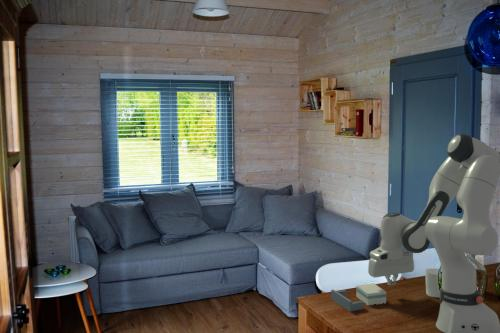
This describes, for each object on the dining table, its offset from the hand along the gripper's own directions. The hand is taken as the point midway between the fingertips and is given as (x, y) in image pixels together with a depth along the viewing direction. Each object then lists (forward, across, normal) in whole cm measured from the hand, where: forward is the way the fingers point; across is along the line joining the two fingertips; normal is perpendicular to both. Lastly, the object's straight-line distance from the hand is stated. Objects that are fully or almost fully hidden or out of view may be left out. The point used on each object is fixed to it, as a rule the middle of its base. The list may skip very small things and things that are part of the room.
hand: (391, 284), depth 205 cm
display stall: (+5, +21, +1) cm, 22 cm away
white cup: (+5, -17, +6) cm, 19 cm away
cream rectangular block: (+5, +10, +1) cm, 11 cm away
